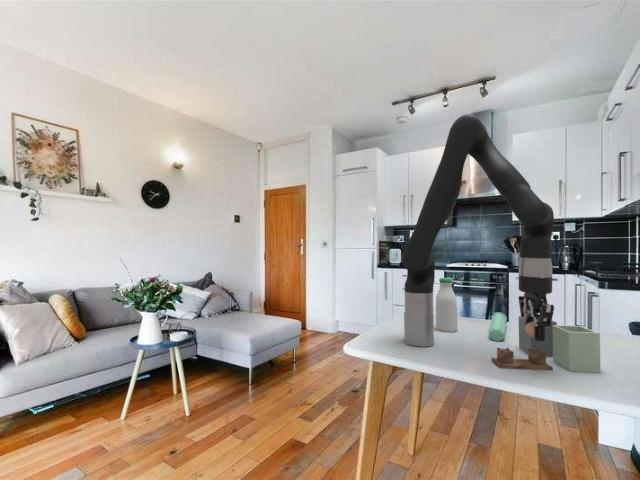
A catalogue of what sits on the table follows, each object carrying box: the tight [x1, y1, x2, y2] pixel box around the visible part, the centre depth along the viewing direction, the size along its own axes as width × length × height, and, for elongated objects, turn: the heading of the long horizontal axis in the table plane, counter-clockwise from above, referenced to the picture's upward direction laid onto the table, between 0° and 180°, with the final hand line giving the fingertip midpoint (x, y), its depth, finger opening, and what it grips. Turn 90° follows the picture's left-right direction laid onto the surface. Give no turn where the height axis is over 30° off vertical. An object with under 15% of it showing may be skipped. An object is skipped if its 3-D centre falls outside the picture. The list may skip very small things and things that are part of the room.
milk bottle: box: [435, 277, 458, 333], centre depth 122 cm, size 8×8×20 cm
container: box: [488, 311, 508, 342], centre depth 117 cm, size 6×6×25 cm
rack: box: [491, 347, 554, 371], centre depth 85 cm, size 13×5×4 cm, turn 81°
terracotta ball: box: [525, 322, 535, 338], centre depth 85 cm, size 4×4×4 cm
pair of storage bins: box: [518, 315, 602, 373], centre depth 90 cm, size 11×18×10 cm, turn 171°
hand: (534, 337), depth 85 cm, fingers closed on terracotta ball, 4 cm apart
